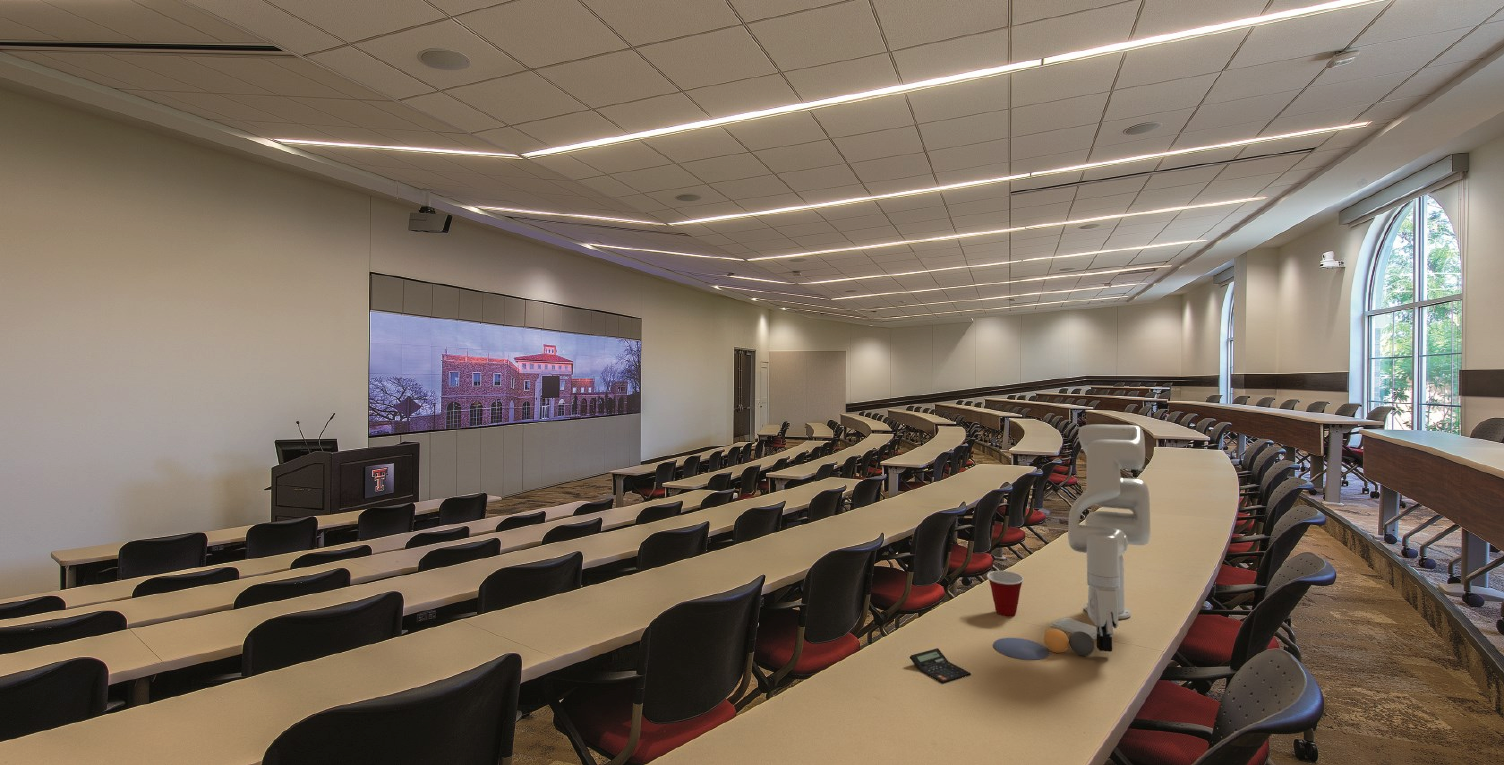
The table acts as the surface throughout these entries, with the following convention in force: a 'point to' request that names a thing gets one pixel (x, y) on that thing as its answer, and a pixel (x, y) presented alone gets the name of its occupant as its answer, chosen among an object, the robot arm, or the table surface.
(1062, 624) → the hard drive
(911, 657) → the calculator
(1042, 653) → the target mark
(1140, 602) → the table surface
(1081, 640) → the gray ball
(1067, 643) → the object ball
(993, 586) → the plastic cup
